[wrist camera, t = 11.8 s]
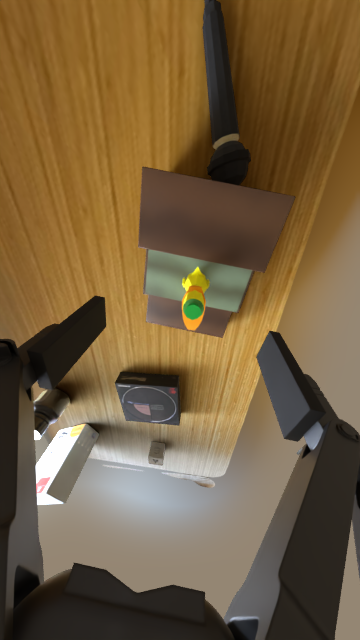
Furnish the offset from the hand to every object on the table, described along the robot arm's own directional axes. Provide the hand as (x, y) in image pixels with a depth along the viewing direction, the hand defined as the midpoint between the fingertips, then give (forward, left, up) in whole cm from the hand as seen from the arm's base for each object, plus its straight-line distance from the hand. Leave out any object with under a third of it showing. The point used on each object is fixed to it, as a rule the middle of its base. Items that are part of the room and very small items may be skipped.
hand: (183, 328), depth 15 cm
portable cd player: (+41, -4, -24) cm, 47 cm away
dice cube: (+70, +1, -24) cm, 73 cm away
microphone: (-20, 0, -24) cm, 31 cm away
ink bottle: (+52, -35, -24) cm, 67 cm away
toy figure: (+1, +1, -15) cm, 15 cm away
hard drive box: (+72, -30, -24) cm, 81 cm away
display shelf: (+1, +1, -23) cm, 23 cm away
